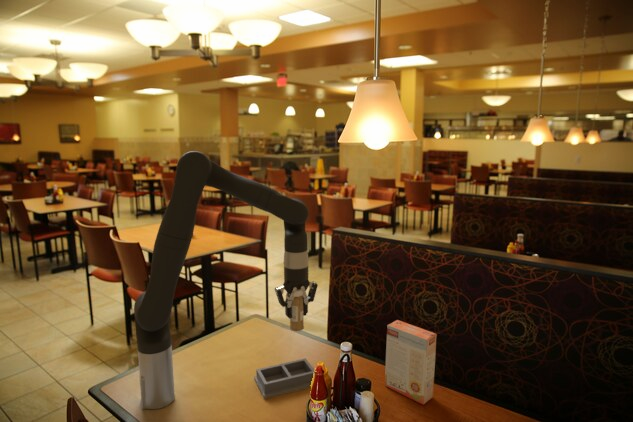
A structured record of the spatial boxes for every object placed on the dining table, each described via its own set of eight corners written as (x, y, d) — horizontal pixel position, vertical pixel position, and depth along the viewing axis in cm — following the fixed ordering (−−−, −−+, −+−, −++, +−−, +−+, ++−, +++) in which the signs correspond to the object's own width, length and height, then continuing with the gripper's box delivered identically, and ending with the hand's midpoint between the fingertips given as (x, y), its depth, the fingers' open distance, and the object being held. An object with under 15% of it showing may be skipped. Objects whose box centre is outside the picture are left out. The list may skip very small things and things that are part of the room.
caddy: (264, 398, 126) (264, 386, 125) (254, 379, 136) (254, 368, 135) (319, 384, 133) (319, 373, 132) (305, 367, 143) (305, 356, 142)
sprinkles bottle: (306, 329, 132) (306, 289, 130) (294, 333, 130) (293, 292, 127) (299, 323, 136) (298, 284, 134) (286, 327, 134) (286, 287, 131)
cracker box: (433, 397, 127) (437, 333, 123) (423, 406, 123) (427, 340, 119) (394, 378, 137) (397, 318, 133) (383, 386, 133) (386, 324, 129)
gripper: (278, 270, 123) (279, 325, 126) (322, 264, 129) (322, 316, 132) (270, 263, 129) (271, 315, 133) (312, 257, 135) (312, 307, 139)
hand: (296, 315), depth 132 cm, fingers closed on sprinkles bottle, 4 cm apart
